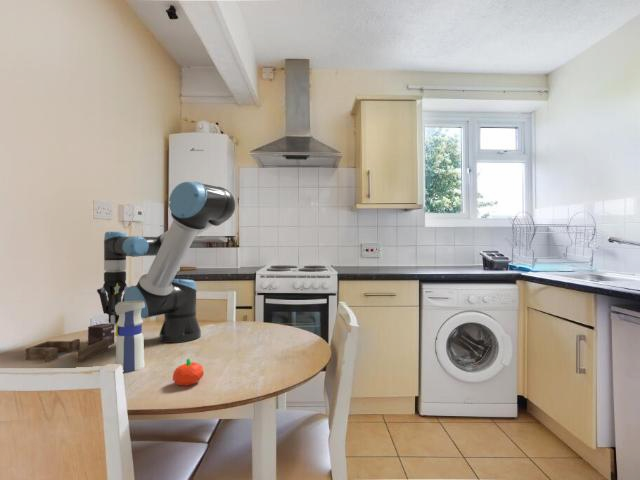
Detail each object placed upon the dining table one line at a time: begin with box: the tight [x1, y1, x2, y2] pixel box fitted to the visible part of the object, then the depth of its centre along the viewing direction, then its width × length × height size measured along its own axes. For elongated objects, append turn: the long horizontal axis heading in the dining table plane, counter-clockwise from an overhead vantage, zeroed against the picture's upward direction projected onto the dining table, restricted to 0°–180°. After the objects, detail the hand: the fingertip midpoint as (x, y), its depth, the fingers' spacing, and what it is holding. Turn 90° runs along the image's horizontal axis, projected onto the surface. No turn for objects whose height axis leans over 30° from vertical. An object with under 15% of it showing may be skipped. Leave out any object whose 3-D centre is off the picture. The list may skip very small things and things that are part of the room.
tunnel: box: [25, 338, 110, 363], centre depth 118 cm, size 20×14×4 cm
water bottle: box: [114, 283, 145, 373], centre depth 105 cm, size 8×9×25 cm
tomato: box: [172, 358, 204, 387], centre depth 93 cm, size 7×8×6 cm
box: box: [87, 323, 115, 347], centre depth 130 cm, size 6×6×7 cm
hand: (114, 331), depth 139 cm, fingers closed
